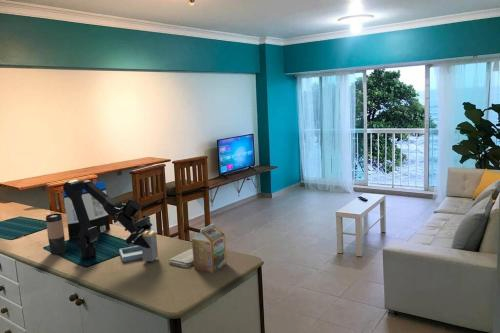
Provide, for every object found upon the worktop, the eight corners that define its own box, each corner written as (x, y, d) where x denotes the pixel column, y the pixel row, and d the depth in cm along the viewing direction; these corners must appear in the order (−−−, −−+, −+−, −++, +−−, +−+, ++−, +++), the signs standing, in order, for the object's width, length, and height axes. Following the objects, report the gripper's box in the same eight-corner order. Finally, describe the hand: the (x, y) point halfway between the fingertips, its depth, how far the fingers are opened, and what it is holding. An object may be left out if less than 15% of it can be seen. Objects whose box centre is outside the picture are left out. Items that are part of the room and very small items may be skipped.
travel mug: (69, 250, 218) (64, 214, 214) (57, 255, 211) (52, 218, 208) (59, 248, 221) (54, 212, 218) (47, 254, 214) (41, 217, 211)
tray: (123, 262, 198) (122, 257, 197) (119, 253, 209) (119, 249, 209) (149, 257, 203) (149, 252, 202) (145, 249, 214) (144, 244, 214)
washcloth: (167, 265, 193) (166, 258, 192) (191, 252, 208) (191, 246, 208) (187, 269, 187) (186, 263, 186) (210, 255, 202) (210, 249, 202)
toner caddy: (142, 260, 195) (140, 233, 193) (148, 256, 201) (146, 229, 199) (152, 261, 194) (150, 233, 192) (157, 256, 200) (155, 229, 198)
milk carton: (212, 272, 181) (210, 231, 178) (194, 268, 186) (191, 228, 183) (226, 264, 190) (224, 224, 187) (208, 260, 195) (205, 221, 192)
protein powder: (113, 230, 248) (108, 182, 243) (72, 241, 232) (65, 189, 227) (107, 227, 255) (101, 180, 250) (66, 237, 239) (59, 187, 234)
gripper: (129, 217, 186) (154, 241, 185) (147, 206, 204) (169, 228, 203) (115, 233, 188) (139, 257, 188) (133, 221, 206) (156, 242, 206)
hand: (152, 245), depth 196 cm, fingers closed on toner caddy, 6 cm apart
